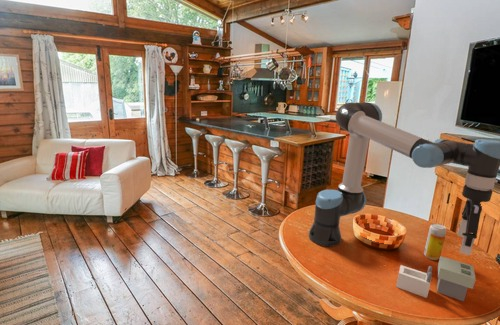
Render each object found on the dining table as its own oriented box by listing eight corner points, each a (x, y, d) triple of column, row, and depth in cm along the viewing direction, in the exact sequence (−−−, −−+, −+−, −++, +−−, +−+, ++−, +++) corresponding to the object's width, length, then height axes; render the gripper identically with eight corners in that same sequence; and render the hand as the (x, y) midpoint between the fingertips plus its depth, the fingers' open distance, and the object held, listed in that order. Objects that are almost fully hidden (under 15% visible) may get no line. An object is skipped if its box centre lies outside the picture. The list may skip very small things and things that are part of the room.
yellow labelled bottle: (441, 261, 123) (449, 230, 119) (426, 259, 124) (433, 228, 120) (436, 254, 129) (443, 223, 125) (421, 252, 130) (428, 222, 126)
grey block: (437, 277, 102) (440, 267, 101) (437, 265, 109) (440, 255, 108) (472, 289, 96) (475, 278, 95) (470, 275, 104) (473, 265, 103)
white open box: (395, 286, 107) (400, 264, 104) (397, 278, 111) (402, 256, 109) (426, 298, 101) (432, 275, 99) (427, 288, 106) (432, 266, 104)
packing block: (437, 292, 105) (441, 275, 103) (437, 284, 109) (441, 268, 107) (463, 301, 100) (468, 284, 99) (462, 293, 105) (467, 276, 103)
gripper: (499, 201, 81) (481, 266, 87) (487, 179, 102) (473, 233, 107) (467, 195, 85) (451, 257, 91) (461, 175, 106) (449, 227, 111)
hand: (463, 244), depth 99 cm, fingers open, 13 cm apart
